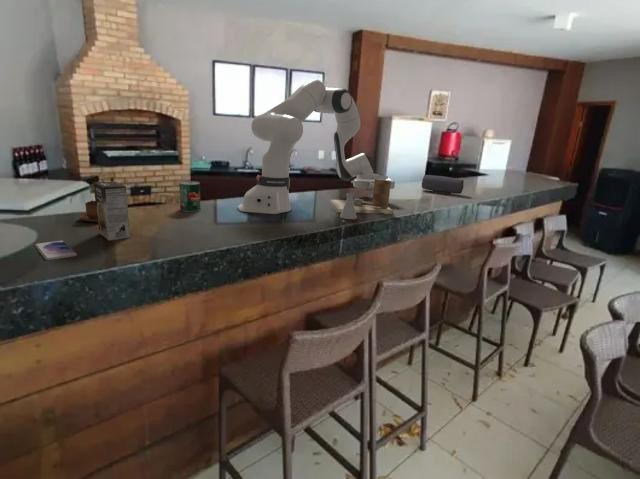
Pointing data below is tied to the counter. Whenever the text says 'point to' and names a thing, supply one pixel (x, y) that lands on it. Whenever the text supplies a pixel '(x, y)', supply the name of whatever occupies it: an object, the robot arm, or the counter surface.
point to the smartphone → (55, 250)
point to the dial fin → (378, 195)
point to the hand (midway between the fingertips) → (377, 186)
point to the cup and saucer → (90, 212)
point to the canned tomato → (189, 196)
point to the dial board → (360, 207)
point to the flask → (349, 208)
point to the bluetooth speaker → (442, 184)
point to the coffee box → (112, 210)
